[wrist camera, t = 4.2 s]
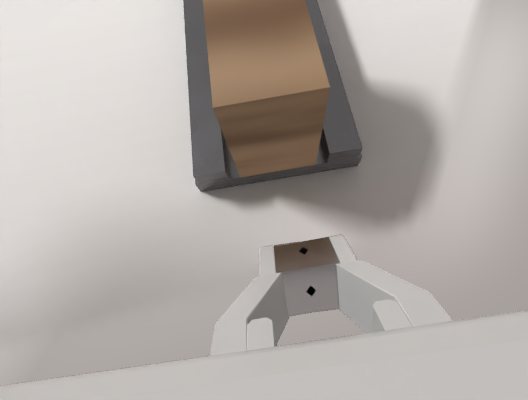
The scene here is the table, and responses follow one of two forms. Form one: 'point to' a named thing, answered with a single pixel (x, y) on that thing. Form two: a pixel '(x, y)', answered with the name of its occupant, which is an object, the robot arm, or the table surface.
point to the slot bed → (209, 131)
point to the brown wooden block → (266, 82)
